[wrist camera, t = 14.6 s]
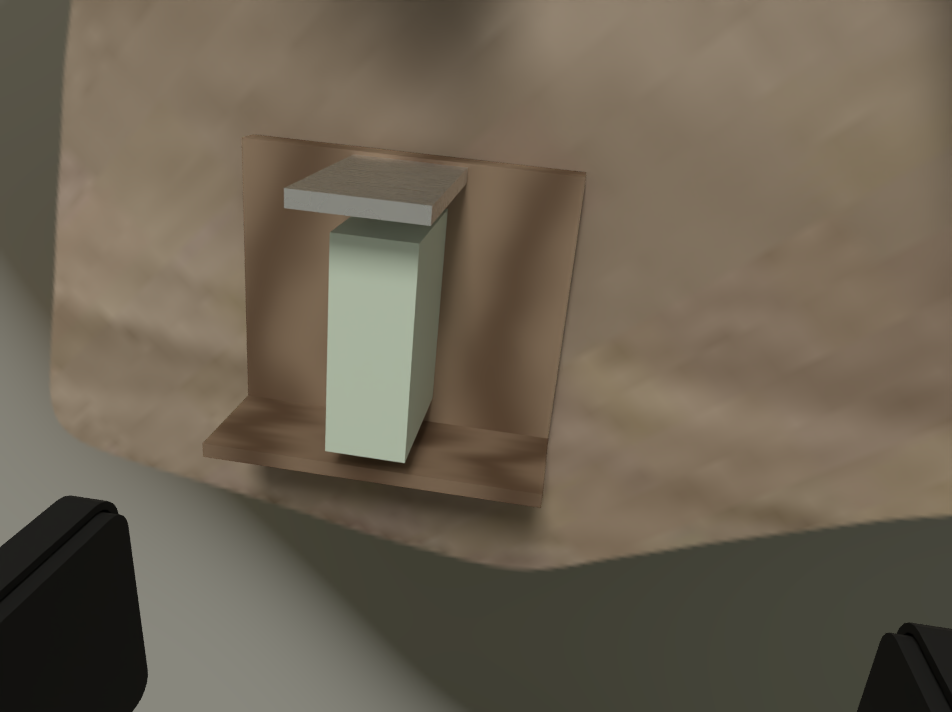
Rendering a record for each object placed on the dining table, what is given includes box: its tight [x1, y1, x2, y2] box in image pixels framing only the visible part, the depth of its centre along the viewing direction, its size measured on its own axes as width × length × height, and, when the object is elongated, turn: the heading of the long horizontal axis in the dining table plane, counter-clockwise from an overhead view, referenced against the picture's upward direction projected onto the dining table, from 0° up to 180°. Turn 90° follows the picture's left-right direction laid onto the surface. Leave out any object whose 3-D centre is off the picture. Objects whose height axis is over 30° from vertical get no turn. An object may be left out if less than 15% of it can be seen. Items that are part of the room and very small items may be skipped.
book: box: [325, 209, 448, 463], centre depth 39 cm, size 4×11×8 cm, turn 175°
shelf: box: [203, 135, 586, 508], centre depth 39 cm, size 18×16×12 cm
